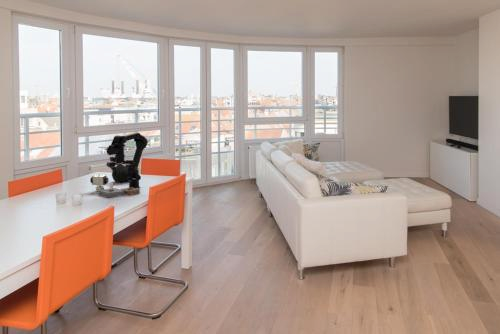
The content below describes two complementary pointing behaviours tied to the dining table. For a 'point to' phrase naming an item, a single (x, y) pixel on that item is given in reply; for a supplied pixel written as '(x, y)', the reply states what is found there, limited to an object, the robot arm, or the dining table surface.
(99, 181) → the pneumatic valve
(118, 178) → the squash
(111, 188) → the steel pin
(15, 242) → the dining table surface
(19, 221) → the dining table surface
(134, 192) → the walnut mount
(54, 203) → the dining table surface
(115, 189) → the socket plate
